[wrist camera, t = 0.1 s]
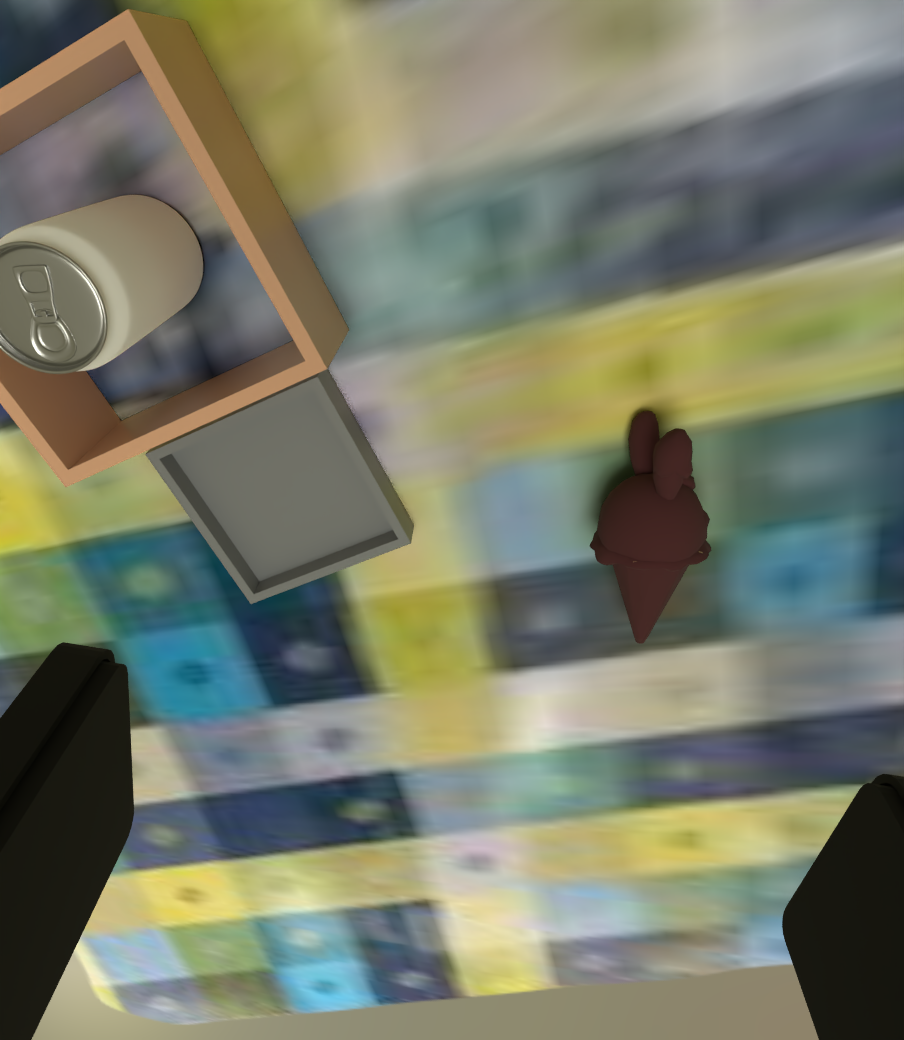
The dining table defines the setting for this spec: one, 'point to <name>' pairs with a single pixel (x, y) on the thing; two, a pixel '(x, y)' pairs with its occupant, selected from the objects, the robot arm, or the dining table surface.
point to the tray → (285, 489)
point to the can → (94, 282)
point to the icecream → (652, 523)
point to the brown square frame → (244, 204)
